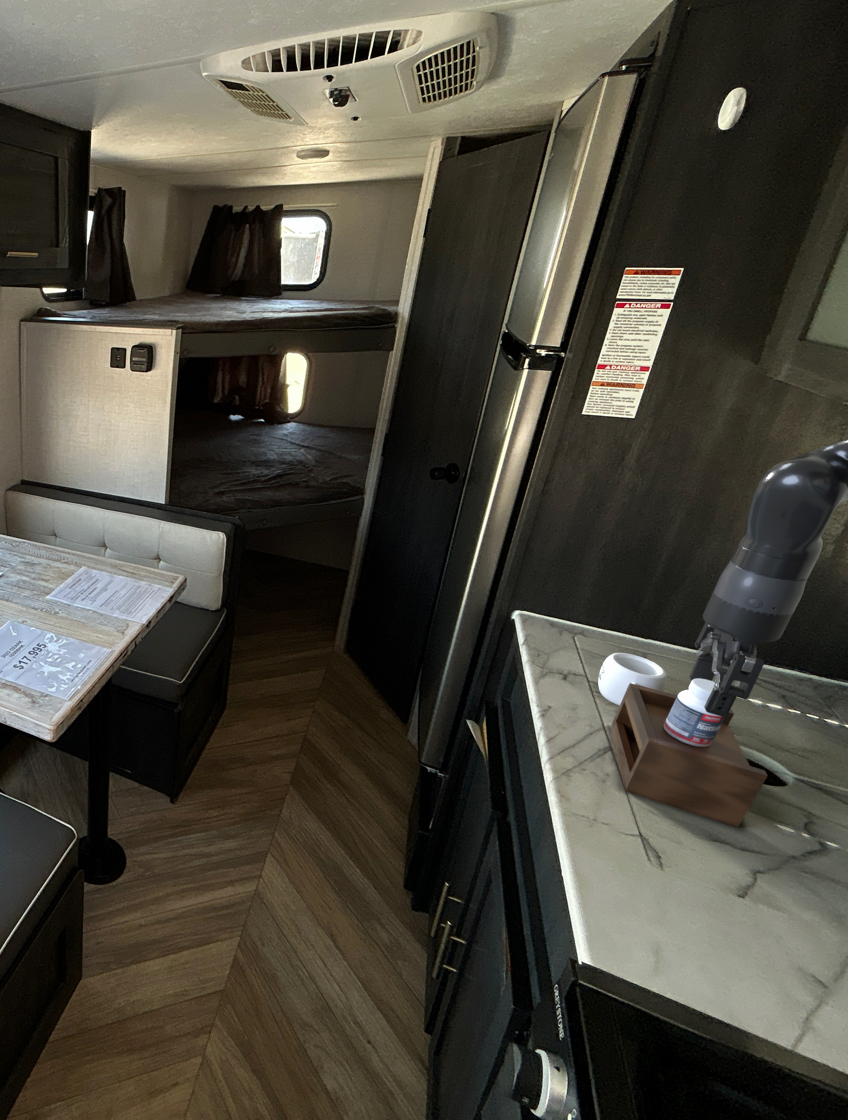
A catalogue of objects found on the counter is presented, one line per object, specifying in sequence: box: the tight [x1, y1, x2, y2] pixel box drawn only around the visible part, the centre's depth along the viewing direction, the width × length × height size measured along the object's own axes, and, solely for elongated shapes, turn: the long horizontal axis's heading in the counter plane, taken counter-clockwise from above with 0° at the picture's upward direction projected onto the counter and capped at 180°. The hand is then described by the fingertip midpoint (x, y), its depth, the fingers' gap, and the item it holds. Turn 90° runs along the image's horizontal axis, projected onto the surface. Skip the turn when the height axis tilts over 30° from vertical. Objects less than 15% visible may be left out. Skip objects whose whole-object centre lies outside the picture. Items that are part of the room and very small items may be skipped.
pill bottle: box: [664, 678, 726, 747], centre depth 92 cm, size 5×5×9 cm
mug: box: [597, 652, 668, 706], centre depth 110 cm, size 12×8×8 cm
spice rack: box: [609, 683, 768, 829], centre depth 95 cm, size 12×16×10 cm
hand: (706, 696), depth 91 cm, fingers open, 8 cm apart
